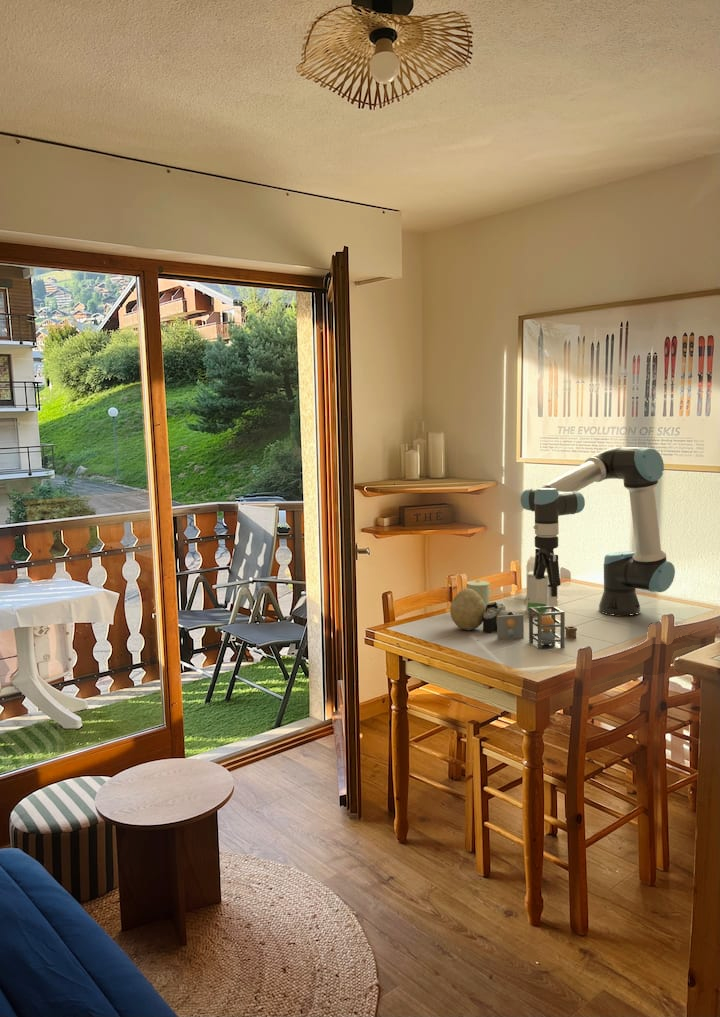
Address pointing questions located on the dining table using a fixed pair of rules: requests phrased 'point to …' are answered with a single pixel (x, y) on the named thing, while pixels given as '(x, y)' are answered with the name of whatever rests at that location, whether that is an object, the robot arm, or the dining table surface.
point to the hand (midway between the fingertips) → (546, 602)
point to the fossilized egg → (467, 609)
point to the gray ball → (547, 636)
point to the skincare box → (531, 593)
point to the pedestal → (571, 632)
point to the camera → (493, 616)
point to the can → (481, 589)
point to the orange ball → (547, 622)
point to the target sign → (510, 627)
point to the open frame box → (560, 624)
